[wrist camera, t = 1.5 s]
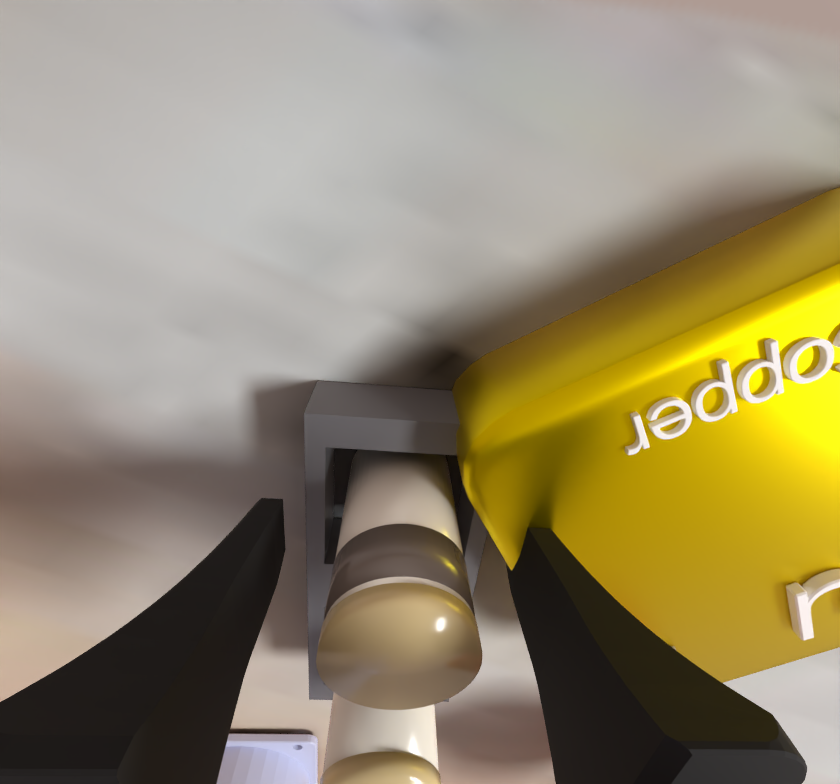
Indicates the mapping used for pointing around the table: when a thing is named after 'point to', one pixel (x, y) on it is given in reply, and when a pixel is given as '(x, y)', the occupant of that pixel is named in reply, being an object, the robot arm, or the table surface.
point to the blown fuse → (399, 588)
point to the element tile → (684, 444)
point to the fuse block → (369, 430)
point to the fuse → (380, 745)
